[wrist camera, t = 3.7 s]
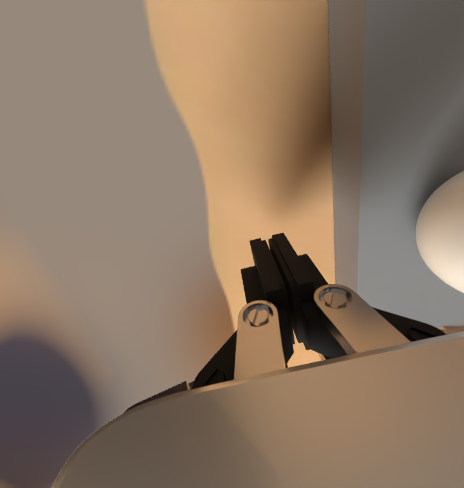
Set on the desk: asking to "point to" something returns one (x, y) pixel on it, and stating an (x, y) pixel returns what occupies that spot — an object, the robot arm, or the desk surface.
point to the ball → (444, 232)
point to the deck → (394, 145)
